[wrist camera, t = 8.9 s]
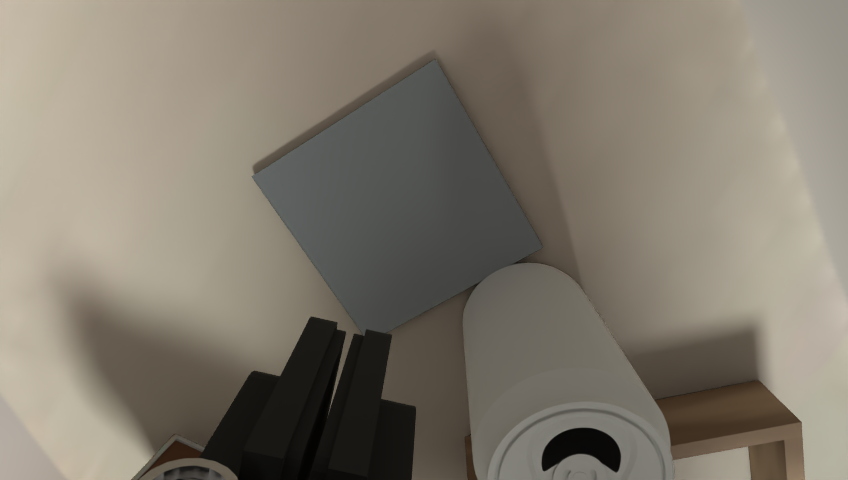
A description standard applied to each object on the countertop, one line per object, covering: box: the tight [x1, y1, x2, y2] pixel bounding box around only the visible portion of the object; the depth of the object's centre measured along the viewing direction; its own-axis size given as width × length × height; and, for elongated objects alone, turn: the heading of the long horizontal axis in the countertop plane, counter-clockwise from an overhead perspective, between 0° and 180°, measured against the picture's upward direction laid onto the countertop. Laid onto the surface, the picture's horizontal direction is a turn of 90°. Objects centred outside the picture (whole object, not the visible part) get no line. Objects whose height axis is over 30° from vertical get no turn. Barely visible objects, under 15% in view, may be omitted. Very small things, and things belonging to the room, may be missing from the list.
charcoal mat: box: [252, 59, 543, 335], centre depth 26 cm, size 10×10×1 cm
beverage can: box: [462, 263, 674, 480], centre depth 22 cm, size 6×6×12 cm
